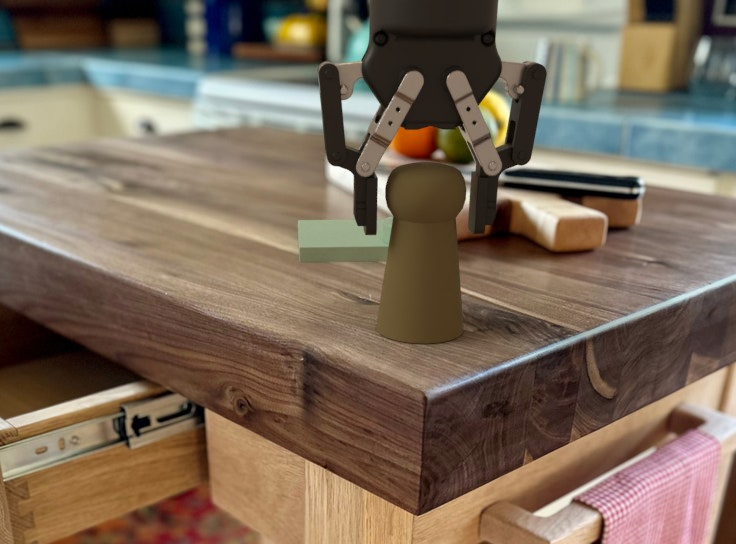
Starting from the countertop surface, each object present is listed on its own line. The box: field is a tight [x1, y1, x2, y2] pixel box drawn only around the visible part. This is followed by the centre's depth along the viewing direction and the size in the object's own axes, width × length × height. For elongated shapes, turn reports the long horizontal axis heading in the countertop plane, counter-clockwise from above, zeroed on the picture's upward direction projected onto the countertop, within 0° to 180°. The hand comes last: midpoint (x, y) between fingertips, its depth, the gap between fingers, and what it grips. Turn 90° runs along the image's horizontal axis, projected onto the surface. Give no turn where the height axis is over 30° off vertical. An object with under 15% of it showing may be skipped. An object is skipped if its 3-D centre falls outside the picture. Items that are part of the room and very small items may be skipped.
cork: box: [375, 161, 467, 345], centre depth 57 cm, size 6×6×11 cm
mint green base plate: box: [297, 215, 393, 263], centre depth 78 cm, size 13×11×3 cm
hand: (423, 231), depth 57 cm, fingers open, 6 cm apart
